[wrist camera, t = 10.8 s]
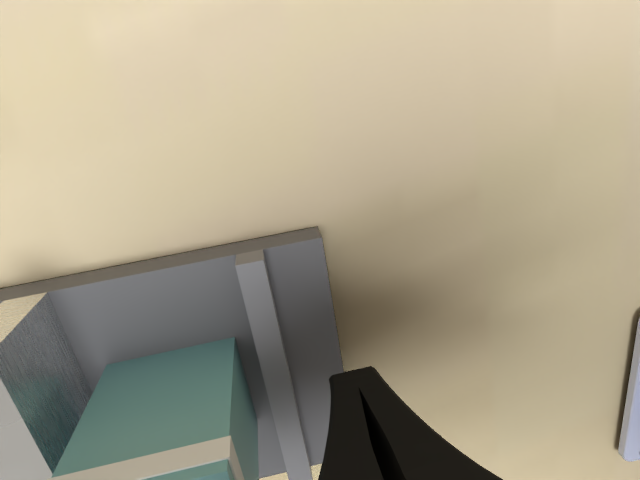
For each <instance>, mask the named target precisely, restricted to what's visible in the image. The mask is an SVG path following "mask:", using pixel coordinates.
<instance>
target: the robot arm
mask: <svg viewBox="0 0 640 480" xmlns="http://www.w3.org/2000/svg"><path fill="white" fill-rule="evenodd" d="M329 383H330V390H331V406H330V419H329V428H328V436H327V441H326V447H325V452H324V458H323V462H322V467H321V471H320V475H319V479H318V480H503V479H501V478H499V477H498V476H496V475H495V474H493V473H491V472H490V471H488V470H486V469H485V468H483V467H482V466H480V465H479V464H477V463H476V462H474V461H473V460H472V459H470V458H469V457H467V456H466V455H464V454H463V453H462V452H460V451H459V450H458V449H456V448H455V447H454V446H452V445H451V444H450V443H449V442H447V441H446V440H445V439H444V438H442V437H441V436H440V435H439V434H438V433H436V432H435V431H434V430H433V429H432V428H431V427H430V426H428V425H427V424H426V423H425V422H424V421H423V420H422V419H421V418H420V417H419V416H417V415H416V414H415V413H414V412H413V411H412V410H411V409H410V408H409V407H408V406H407V405H406V404H405V403H404V402H403V401H402V400H401V399H400V398H399V397H398V395H397V394H396V393H395V392H394V391H393V390H392V389H391V388H390V387H389V385H388V384H387V383H386V382H385V381H384V380H383V378H382V377H381V376H380V374H379V373H378V372H377V371H376V369H375V368H373V367H372V366H370V367H365V368H361V369H357V370H352V371H348V372H343V373H339V374H335V375H332V376H331V377H330V378H329ZM618 453H619V454H620V455H621V456H622V458H623V459H624V460H625V461H636V460H639V459H640V318H639V320H638V326H637V332H636V339H635V345H634V352H633V358H632V365H631V371H630V377H629V384H628V390H627V397H626V403H625V410H624V416H623V422H622V429H621V435H620V442H619V448H618Z"/></svg>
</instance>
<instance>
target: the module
mask: <svg viewBox="0 0 640 480" xmlns="http://www.w3.org/2000/svg"><path fill="white" fill-rule="evenodd" d="M47 480H259V466H258V421H257V416H256V413H255V409H254V405H253V402H252V398H251V395H250V391H249V387H248V384H247V380H246V376H245V373H244V369H243V365H242V362H241V358H240V354H239V351H238V347H237V344H236V340H235V337H232V338H228V339H223V340H218V341H214V342H209V343H205V344H200V345H195V346H191V347H186V348H182V349H177V350H172V351H168V352H163V353H159V354H154V355H149V356H145V357H140V358H136V359H131V360H126V361H122V362H117V363H113V364H108V365H106V367H105V369H104V371H103V373H102V375H101V377H100V379H99V382H98V384H97V386H96V388H95V390H94V392H93V394H92V396H91V398H90V400H89V402H88V404H87V406H86V408H85V410H84V412H83V414H82V416H81V418H80V420H79V422H78V424H77V426H76V428H75V430H74V432H73V434H72V436H71V439H70V441H69V443H68V445H67V447H66V449H65V451H64V453H63V455H62V457H61V459H60V461H59V463H58V465H57V467H56V469H55V471H54V473H53V475H52V477H51V478H49V479H47Z"/></svg>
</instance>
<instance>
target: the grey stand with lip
mask: <svg viewBox="0 0 640 480" xmlns="http://www.w3.org/2000/svg"><path fill="white" fill-rule="evenodd" d="M45 292H48V294H49V297H50V299H51V301H52V303H53V306H54V308H55V310H56V312H57V315H58V317H59V319H60V321H61V323H62V326H63V328H64V330H65V332H66V335H67V337H68V339H69V341H70V344H71V346H72V348H73V350H74V352H75V355H76V357H77V359H78V361H79V364H80V366H81V368H82V370H83V373H84V375H85V377H86V379H87V381H88V384H89V386H90V388H91V390H92V393H93V392H94V390H95V388H96V386H97V384H98V382H99V379H100V377H101V375H102V373H103V371H104V369H105V367H106V365H108V364H113V363H117V362H122V361H126V360H131V359H136V358H140V357H145V356H149V355H154V354H159V353H163V352H168V351H172V350H177V349H182V348H186V347H191V346H195V345H200V344H205V343H209V342H214V341H218V340H223V339H228V338H232V337H235V340H236V344H237V347H238V351H239V354H240V358H241V362H242V365H243V369H244V373H245V376H246V380H247V384H248V387H249V391H250V395H251V398H252V402H253V405H254V409H255V413H256V416H257V421H258V466H259V478H263V477H268V476H272V475H276V474H280V473H284V472H287V474H288V478H289V480H313V478H312V472H311V466H313V465H317V464H321V463H322V462H323V458H324V452H325V447H326V441H327V436H328V428H329V419H330V406H331V390H330V383H329V378H330V377H331V376H332V375H335V374H339V373H343V372H344V371H343V365H342V358H341V352H340V346H339V340H338V334H337V327H336V321H335V315H334V309H333V303H332V296H331V290H330V284H329V278H328V272H327V265H326V259H325V253H324V247H323V240H322V236H321V234H320V232H319V230H318V227H313V228H307V229H302V230H297V231H292V232H287V233H282V234H277V235H272V236H267V237H262V238H257V239H251V240H246V241H241V242H236V243H231V244H226V245H221V246H216V247H211V248H206V249H201V250H195V251H190V252H185V253H180V254H175V255H170V256H165V257H160V258H155V259H150V260H145V261H139V262H134V263H129V264H124V265H119V266H114V267H109V268H104V269H99V270H94V271H89V272H83V273H78V274H73V275H68V276H63V277H58V278H53V279H48V280H43V281H38V282H33V283H27V284H22V285H17V286H12V287H7V288H2V289H0V304H1V303H2V302H3V301H5V300H10V299H15V298H20V297H25V296H30V295H35V294H40V293H45Z"/></svg>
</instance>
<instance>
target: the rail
mask: <svg viewBox="0 0 640 480" xmlns="http://www.w3.org/2000/svg"><path fill="white" fill-rule="evenodd" d="M92 394H93V393H92V390H91V388H90V386H89V384H88V381H87V379H86V377H85V375H84V373H83V370H82V368H81V366H80V364H79V361H78V359H77V357H76V355H75V352H74V350H73V348H72V346H71V344H70V341H69V339H68V337H67V335H66V332H65V330H64V328H63V326H62V323H61V321H60V319H59V317H58V315H57V312H56V310H55V308H54V306H53V303H52V301H51V299H50V297H49V294H48V292H45V293H40V294H35V295H30V296H25V297H20V298H15V299H10V300H5V301H3V302H2V303H1V304H0V480H47V479H49V478H51V477H52V475H53V473H54V471H55V469H56V467H57V465H58V463H59V461H60V459H61V457H62V455H63V453H64V451H65V449H66V447H67V445H68V443H69V441H70V439H71V436H72V434H73V432H74V430H75V428H76V426H77V424H78V422H79V420H80V418H81V416H82V414H83V412H84V410H85V408H86V406H87V404H88V402H89V400H90V398H91V396H92Z"/></svg>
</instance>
